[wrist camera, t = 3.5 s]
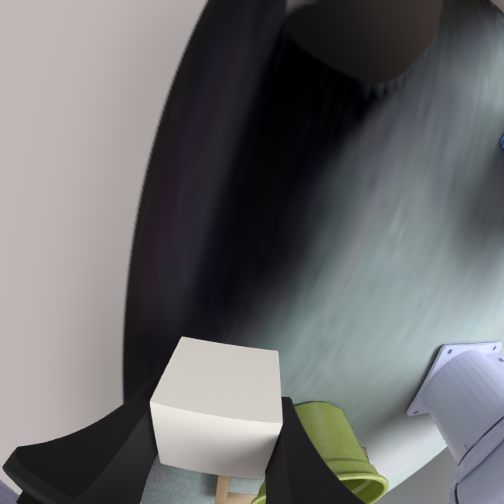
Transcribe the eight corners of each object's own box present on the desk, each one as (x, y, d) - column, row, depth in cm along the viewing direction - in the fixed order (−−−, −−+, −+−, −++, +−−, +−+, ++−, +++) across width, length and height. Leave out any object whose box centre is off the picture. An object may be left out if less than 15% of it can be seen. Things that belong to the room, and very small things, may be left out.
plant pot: (361, 439, 21) (380, 508, 12) (266, 456, 22) (264, 528, 13) (364, 374, 18) (399, 460, 10) (244, 396, 19) (233, 489, 11)
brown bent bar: (395, 399, 19) (404, 417, 17) (324, 498, 24) (325, 511, 22) (168, 380, 19) (159, 400, 17) (179, 486, 25) (175, 500, 22)
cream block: (277, 351, 11) (282, 423, 7) (262, 413, 12) (261, 479, 8) (181, 336, 11) (149, 401, 7) (181, 401, 12) (160, 463, 8)
